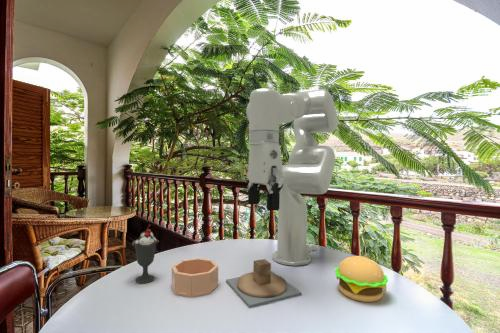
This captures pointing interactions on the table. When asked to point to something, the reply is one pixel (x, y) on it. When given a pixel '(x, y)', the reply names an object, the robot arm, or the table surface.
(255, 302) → the mat
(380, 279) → the hamburger
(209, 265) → the bowl
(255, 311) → the table surface
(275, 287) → the lid
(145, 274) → the sundae
